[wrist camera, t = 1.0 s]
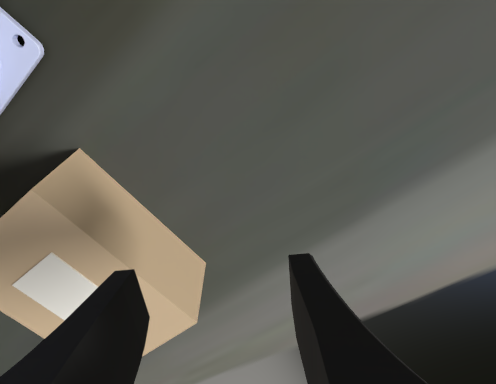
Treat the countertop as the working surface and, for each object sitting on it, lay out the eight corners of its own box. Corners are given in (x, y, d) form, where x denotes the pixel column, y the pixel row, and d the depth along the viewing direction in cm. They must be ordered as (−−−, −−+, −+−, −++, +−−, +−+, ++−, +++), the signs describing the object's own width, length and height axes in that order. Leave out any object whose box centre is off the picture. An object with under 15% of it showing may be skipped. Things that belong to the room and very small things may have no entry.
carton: (5, 217, 21) (-61, 274, 16) (81, 146, 19) (30, 190, 14) (131, 311, 25) (106, 379, 20) (206, 260, 23) (196, 324, 18)
